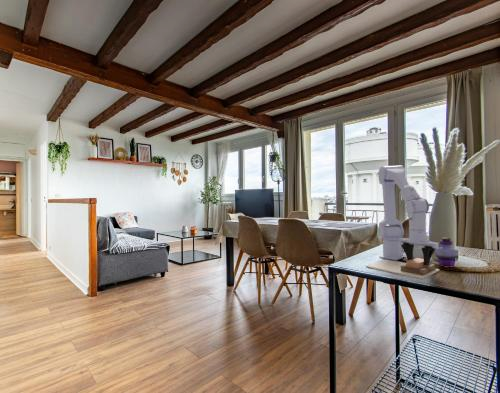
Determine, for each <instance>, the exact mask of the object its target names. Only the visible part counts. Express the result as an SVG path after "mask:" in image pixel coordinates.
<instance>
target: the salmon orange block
mask: <svg viewBox="0 0 500 393" xmlns="http://www.w3.org/2000/svg"><path fill="white" fill-rule="evenodd" d="M430 262H431V261H430ZM430 262H429V265H430ZM406 263H407V267H412V268H417V269H423V268H425V267H427V266H429V265H427V266H425V265H424V258H413V259H412V260H406Z"/></svg>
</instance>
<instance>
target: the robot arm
mask: <svg viewBox="0 0 500 393" xmlns="http://www.w3.org/2000/svg"><path fill="white" fill-rule="evenodd" d="M377 174H378V182H379V184H380V185H381V186H382V198H383V213H384V214H383V215H384V219H382V220H381V221H380V222H379V224H378V229H377V230H378V231H377V233H378V236H379V237H380V238H381V240H382V255H380V256H379V257H378V258H381V259H385V260H391V261H398V260H401V259H403V257H404V258H406V259H407V260H406V261H408V260H412V259H414V258H413V248H414V245H419V246H425V247H423V248H422V252H423V257H424V258H423V259H424V265H425V266H427V265H429V262H431V260H432V256H433V254H434V253H435V249H436V248H440V247H439V244H440V243H439V242H435V241H430V240H427V241H426V232H427V222H426V220H427V219H426V218H427V217H426V216H427V215H426V214H427V213H428V212H429V210H430V204H429V201H428V200H427V199H426V198H423V197H421V195H420V194H419V192H417V190H416V188H415V187H414V186H411V185H410V184H409V182H408V181H407V178H406V169H405V167H404V166H403V165H402V164H401V165H381V166H380V168H379V170H378V173H377ZM395 185H396V186H397V187H398V188H399V189H400V191H399V194H400V196H401V198H402V199H403V201H404V203H405V211H406V214H407V215H406V216H407V218H408V232H409V233H408V237H407V238H406V237H405V238H404V235H405V230H404V226H403V223H402V222H401V221H400V220H398V219H397V210H396V198H395ZM404 253H405V255H404Z"/></svg>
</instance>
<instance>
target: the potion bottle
mask: <svg viewBox="0 0 500 393" xmlns="http://www.w3.org/2000/svg"><path fill="white" fill-rule="evenodd" d="M439 242H440V243H439V244H440V245H442V246H440V247H439V248H436V249H435V251H434V253H435V256H436V258H437V261H438V266H439V265H443V266H449V267H450V266H454V267H455V264H456V262H458V260H459V249H455V248H454V247H453V248H452V247H451V246H453V241H452V239H451V237H446V236H445V237H441V239H440V241H439Z"/></svg>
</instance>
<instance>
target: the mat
mask: <svg viewBox="0 0 500 393" xmlns="http://www.w3.org/2000/svg"><path fill="white" fill-rule="evenodd" d="M405 264H407V262H401V261H397V260H392V259H383V260H379V261H375V262H373V263H370V264H367V265H365V267H366V268H369V269H373V270H378V271H382V272H388V273H390V274H391V273H392V274H396V275H402V276H406V277H411V278H414V279H420V280H423V279H426V278H428V277H430V276H432V275H433V274H435V273H438V272H440V269H439V268H436V269H435V270H433V271H431V272H429V273H427V274H425V275H423V276H422V275H418V274H413V273H408V272H403V271H401V266H402V265H405Z"/></svg>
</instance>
